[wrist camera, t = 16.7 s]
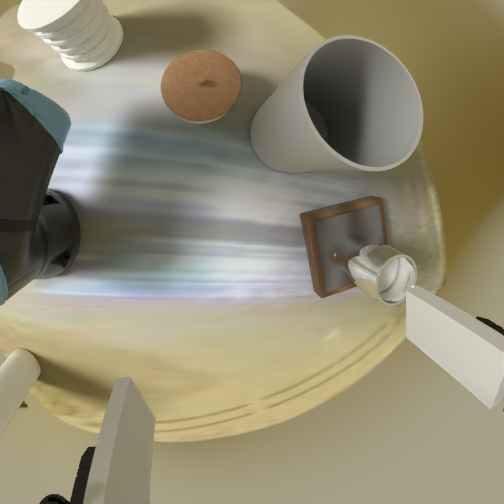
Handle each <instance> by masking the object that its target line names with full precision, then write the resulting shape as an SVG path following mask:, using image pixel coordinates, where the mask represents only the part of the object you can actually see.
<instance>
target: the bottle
mask: <svg viewBox="0 0 504 504" xmlns="http://www.w3.org/2000/svg"><path fill="white" fill-rule="evenodd" d="M40 372H41V369H40V365H39V363H38V361H37V359H36V358H35V357H34V356H33V355H32V354H31V353H30V352H28V351H27V350H25V349H21V348H18V349H16V350H14V352H12V353H11V354H10V355H9V357H8V358H7V360H6V361H5V362H4V363H3V364H2V365H1V367H0V436H2V435H3V434H4V432H5V430H6V428H7V427H8V425H9V423H10V421H11V420H12V418H13V417H14V415H15V413H16V412H17V410H18V408H19V407H20V405H21V403H22V402H23V400H24V398H25V397H26V395H27V394H28V392H29V391H30V389H31V387H32V386H33V385H34V383H35V382H36V381H37V379H38V377H39V375H40Z"/></svg>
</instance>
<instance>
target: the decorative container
mask: <svg viewBox="0 0 504 504" xmlns="http://www.w3.org/2000/svg"><path fill="white" fill-rule="evenodd" d="M17 15H18V22H19V24H20V26H21V27H23V28H24V29H25V30H27V31H29V32H34V33H35V34H36V35H37V36H39V37H41V38H42V39H43V40H44V42H46V43H47V44H48V45H51V47H52V48H53V49H54V50H55V51H57V52H59V54H60V55H61V57H62V60H63V62H64V63H65V65H66V66H68V67H69V68H70V69H72V70H74V71H78V72H87V71H90V70H94V69H96V68H98V67H100V66H102V65H104V64H105V63H106V62H108V61H109V60H110V59H111V58H112V57H113V56H114V55H115V54H116V53H117V51H118V49H119V48H120V46H121V43H122V40H123V29H122V26H121V24H120V22H119V21H118V20H117V19H116V18H115V17H113V16H111V15H110V14H109V12H108V9H107V8H106V6H105V4H103V1H102V0H23V1H22V3H21V5H20V7H19V10H18V14H17Z"/></svg>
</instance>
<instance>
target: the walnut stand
mask: <svg viewBox="0 0 504 504" xmlns="http://www.w3.org/2000/svg"><path fill="white" fill-rule="evenodd" d="M300 218H301V223H302V228H303V233H304V238H305V244H306V249H307V254H308V260H309V265H310V270H311V276H312V282H313V288H314V291H315V292H316V293H317V294H318V295H319V296H320V297H321V298H324V297H327V296H330V295H333V294H336V293H339V292H342V291H345V290H348V289H350V288H353V287H356V286H357V285H356V284H355V283H354V282H353V281H352V279H351V278H350V277H349V275H348V274H347V273H346V272H345V271H343V270H339V269H337V268H335V267H334V266H333V265H332V264H331V263H330V261H329V258H328V249H329V245H330V243H331V242H332V240H333V239H334V238H335V237H336V236H338V235H340V234H343V233H350V234H353V235H355V236H356V237H357V238H358V239H359V240H361V241H367V242H376V243H382V244H385V245H388V243H387V234H386V225H385V217H384V209H383V202H382V198H379V197H373V196H370V197H366V198H362V199H357V200H353V201H349V202H345V203H341V204H337V205H333V206H329V207H325V208H321V209H317V210H313V211H309V212H305V213H301V214H300Z"/></svg>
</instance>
